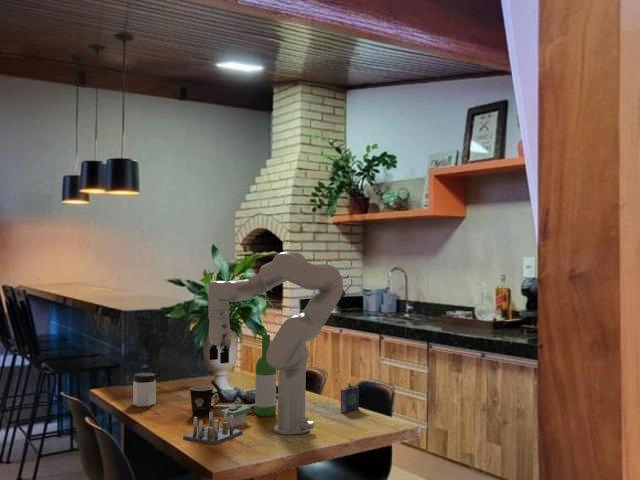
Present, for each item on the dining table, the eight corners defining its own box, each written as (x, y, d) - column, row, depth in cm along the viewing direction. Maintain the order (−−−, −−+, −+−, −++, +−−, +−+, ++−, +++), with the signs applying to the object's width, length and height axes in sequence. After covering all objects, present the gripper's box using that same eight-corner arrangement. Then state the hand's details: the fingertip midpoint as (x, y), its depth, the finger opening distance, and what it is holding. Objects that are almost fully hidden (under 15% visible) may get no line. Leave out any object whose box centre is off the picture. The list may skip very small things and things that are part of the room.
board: (251, 411, 232) (251, 405, 232) (234, 417, 223) (234, 411, 223) (237, 409, 235) (237, 403, 235) (220, 415, 226) (220, 409, 226)
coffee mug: (184, 415, 240) (185, 389, 241) (199, 410, 248) (199, 384, 248) (209, 419, 235) (210, 392, 235) (223, 414, 243) (224, 388, 243)
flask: (343, 413, 245) (343, 385, 245) (338, 412, 247) (338, 384, 247) (360, 409, 251) (360, 382, 251) (354, 408, 253) (355, 381, 253)
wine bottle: (251, 415, 242) (251, 335, 242) (262, 410, 248) (263, 333, 249) (268, 417, 238) (269, 336, 238) (279, 413, 245) (280, 334, 245)
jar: (145, 407, 253) (145, 377, 253) (129, 405, 256) (129, 375, 256) (159, 402, 261) (160, 373, 261) (143, 400, 264) (143, 371, 264)
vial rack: (242, 433, 218) (242, 414, 218) (214, 444, 205) (214, 424, 205) (212, 427, 224) (212, 409, 224) (183, 438, 211) (183, 418, 211)
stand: (246, 422, 232) (246, 411, 232) (232, 427, 225) (232, 416, 225) (239, 421, 233) (239, 410, 233) (225, 426, 226) (225, 414, 226)
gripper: (238, 315, 230) (238, 363, 230) (218, 312, 245) (218, 357, 245) (218, 317, 226) (219, 365, 226) (200, 313, 241) (200, 359, 241)
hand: (219, 361), depth 235 cm, fingers open, 9 cm apart
